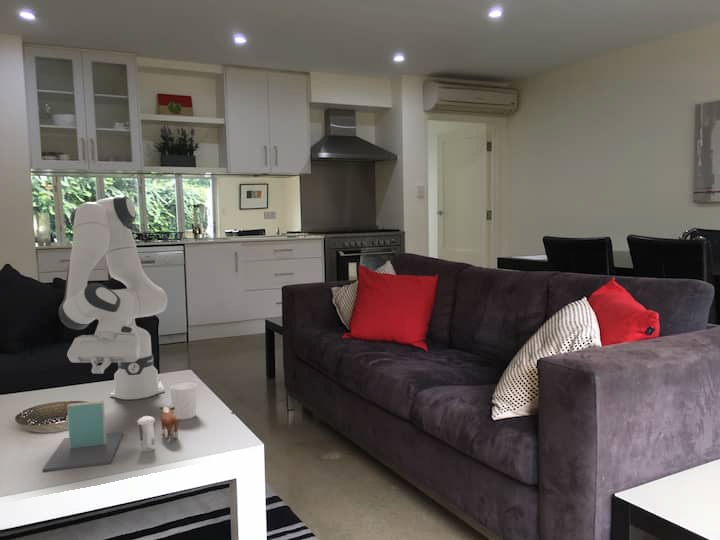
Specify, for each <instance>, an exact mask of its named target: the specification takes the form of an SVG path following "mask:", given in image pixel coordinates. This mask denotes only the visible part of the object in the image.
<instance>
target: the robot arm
mask: <svg viewBox="0 0 720 540" xmlns="http://www.w3.org/2000/svg"><path fill="white" fill-rule="evenodd" d="M136 217H137V210H136V206H135V204H134V203H133V201H132V199H131V198H130V197H128V196H127V195H123V194H122V195H115V196H112V197H105V198H101V199H98V200H96V201H93V202H92V201H87V202H83V203H81V204H80V205H78V207H76V208H74V209H73V210H72V211H71V213H70V217H69V220H70V225H71V227H72V231H73V232H72V245H71V253H70V257H69V260H68V261H69V263H68V265H67V273H66V281H65V291H64V296H63V297H64V298H63V300H62V302H61V304H60V306H59V308H58V316H59V319H60V321H61V322H62V324H63V325H65V327H67V328H69V329H70V330H71V329H73V330H76V331H80V330H81V331H82V330H84V329H86V328H87V327H88V326H89V325H90V324H91V323H92V322H93V321H95V320H98V324H97V326H96V328H95V332H94V334H87V335H86V334H81V335H79V336H77V337H75V338H74V340H73V341H72V344H71V345H70V347H69V349H68V350H67V352H66V353H67V354H66V355H67V358H68V359H69V361H70V362H71V363H91V365H92V367H91V373H92V374H104V372H105V370H106V369H108V367H109V366H111V363H117V367H118V369H117V371H115V373H114V375H113V377H114V378H113V379H114V383H113V384H114V390H113V391H112V392H110V393H109V397H110V398H117V399H119V400H140V399H145V398H146V399H147V398H149V397H150V398H151V397H152V396H155V395H157V394H161V393H165V392H166V391H165V390H166V389H165V387H164V385H163V383H162V382H161V380H160V378H159V374H158V369H157V368H156V367H155V366H154V356H153V353H152V341H151V338H152V337H151V335H150V333H149V331H147V330H146V329H144V328H142V327H140V326H138V325H137V324H136V319H138V318H145V317H153V316H155V315H158V314H161V313H163V312H165V310H166V308H167V306H168V302H169V301H168V295H167V293H166V292H165V290H164V289H163V288H162V287H160V286H158V285H156V284H155V283H154V282H153V281H152V280H151V279H149V277H148V276H147V274H146V273H145V271H144V269H143V266H142V263H141V260H140V257H139V253H138V247H137V244H136V241H135V238H134V235H133V233H132V231H131V228H133V227H132V226H133V223H134V222H135V219H136ZM104 256H105V260H106V265H107V270H108V273H109V276H110V277H111V278H112V279H114V280H117V281H119V282H120V283H122V284H123V285H124V286H126V288H121V289H119V288H118V289H110V288H109V287H107V286H106V285H103V283H102V284H101V283H98V282H97V283H96V282H93V283H90V284H89V283H88V280H89V277H90V274H91V272H92V271H93V269H94V268H95V266H96V265H97V264H98V263H99V261H100V260H101V259H102V258H103V257H104ZM99 363H102V364H100V365H99Z"/></svg>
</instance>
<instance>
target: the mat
mask: <svg viewBox="0 0 720 540" xmlns="http://www.w3.org/2000/svg"><path fill="white" fill-rule="evenodd" d="M123 437H124V432H123V431H121V432H112V433H111V432H110V433H106V444H105V445H96V446H87V447H78V448H70V440H69V437H65V438H63V439H62V441H61V442H60V444H59V445H58V446H57V448H56V449H55V451H54V452H53V453H52V455H51V456H50V458H49V460H48V461H47V462H46V464H45V465H44V466H43V468H42V472H49V471H58V470H67V469H76V468H78V469H79V468H86V467H94V466H102V465H103V466H104V465H110V464H112V462H113V459H114V457H115V455H116V452H117V450H118V448H119V446H120V443H121V441H122V438H123Z"/></svg>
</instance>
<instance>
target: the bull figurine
mask: <svg viewBox="0 0 720 540" xmlns="http://www.w3.org/2000/svg"><path fill="white" fill-rule="evenodd" d="M174 409H175V408H174V407H173V406H172V405H170V404H169V403H167V404H165V405H164V406H159V410H161V411H162V412H161V415H160V419H159V420H160V422H161V430H162V431H161V435H162V436H163V435H166V431H165V430H167V441H166V443H167V444H170V443H171V435H174V439H175V440H176V439H177V440H178V439H179V436H178V435H179V431H178V428H179V426H180V425H179V424H180V423H179V421H180V420H179V419H177V418H176V417H175V415H174V412H173V411H174Z"/></svg>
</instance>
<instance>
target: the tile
mask: <svg viewBox="0 0 720 540" xmlns="http://www.w3.org/2000/svg"><path fill="white" fill-rule="evenodd" d="M67 421H68V438H69V440H70V448H78V447H87V446H96V445H105V444H106V434H107V433H106V431H107V428H106V414H105V401H104V400H98V401H97V400H96V401H87V402H86V401H85V402H74V403H72V402H71V403H68V404H67Z"/></svg>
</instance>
